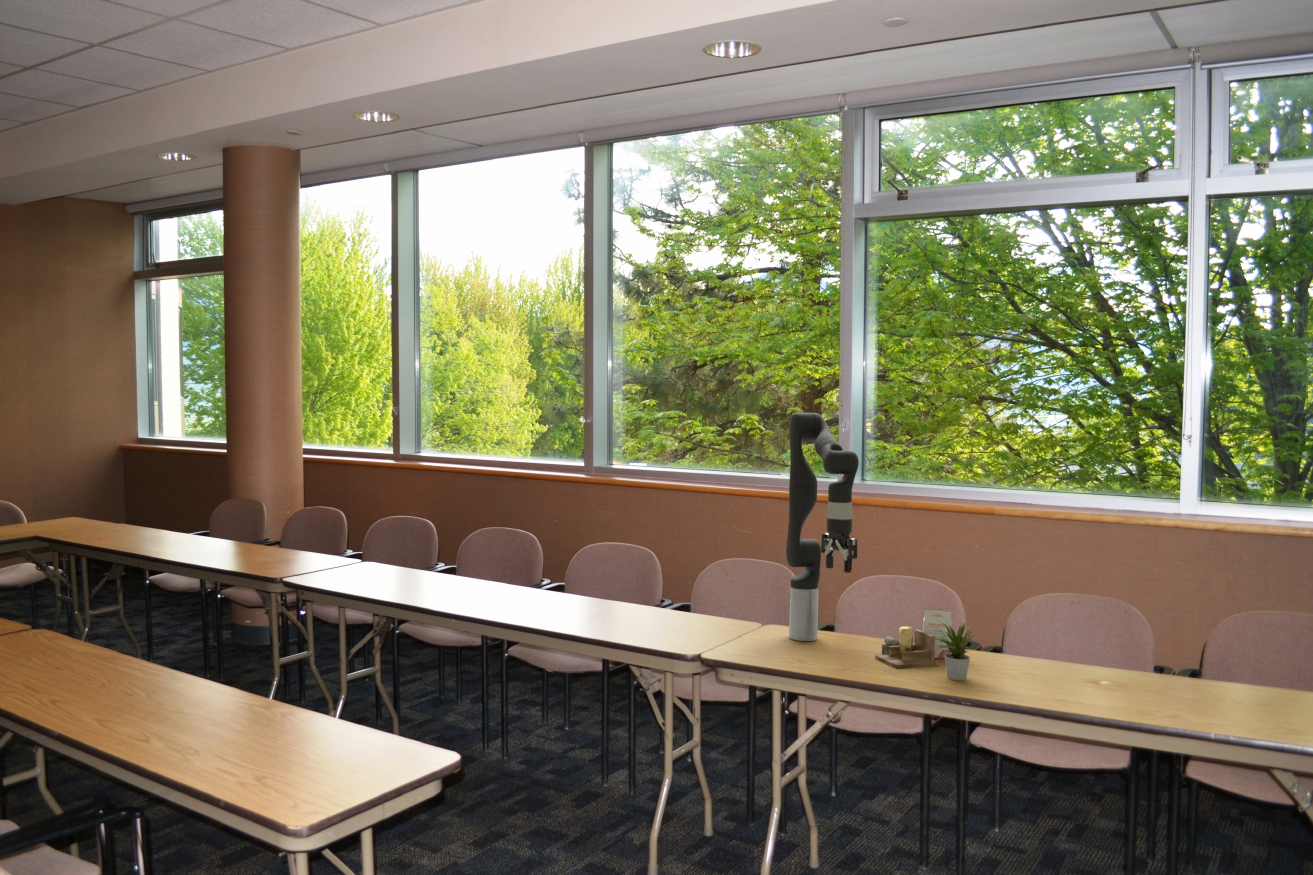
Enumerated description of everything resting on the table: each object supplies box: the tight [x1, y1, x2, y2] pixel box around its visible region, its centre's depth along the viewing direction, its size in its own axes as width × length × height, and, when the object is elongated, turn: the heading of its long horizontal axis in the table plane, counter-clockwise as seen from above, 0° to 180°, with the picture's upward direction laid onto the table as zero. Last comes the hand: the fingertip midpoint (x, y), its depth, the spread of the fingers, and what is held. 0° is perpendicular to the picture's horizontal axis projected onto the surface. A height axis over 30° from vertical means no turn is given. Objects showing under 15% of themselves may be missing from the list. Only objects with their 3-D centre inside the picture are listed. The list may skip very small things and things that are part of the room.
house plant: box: [931, 621, 980, 681], centre depth 281 cm, size 14×14×16 cm
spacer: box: [898, 625, 914, 659], centre depth 296 cm, size 4×4×10 cm
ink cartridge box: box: [922, 610, 953, 660], centre depth 303 cm, size 9×5×15 cm, turn 76°
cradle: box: [874, 628, 938, 669], centre depth 299 cm, size 16×14×8 cm
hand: (838, 570), depth 294 cm, fingers open, 8 cm apart
